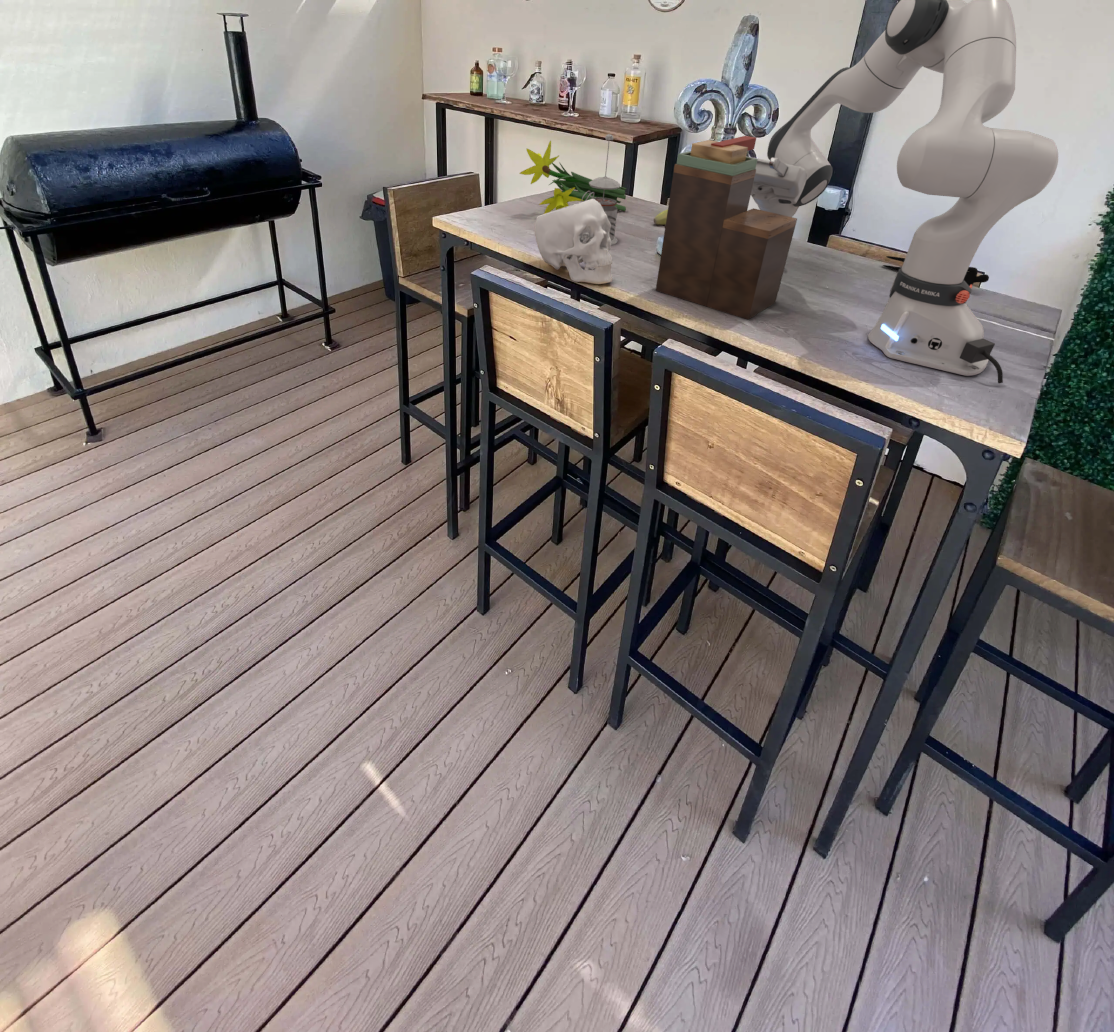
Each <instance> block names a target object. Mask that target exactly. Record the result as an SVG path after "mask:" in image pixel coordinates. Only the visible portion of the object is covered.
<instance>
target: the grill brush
mask: <svg viewBox="0 0 1114 1032" xmlns="http://www.w3.org/2000/svg"><path fill="white" fill-rule="evenodd" d="M756 143H757V137H754V136H750V135H743V136H738V137H734V138H729V139H725V140H721V141H717V140H711V139H705V140H702V141H701V140H700V141H698V142H693V143H691V147H690V151H691V154H690V156H695V157H700V158H704V159H709V160H714V161H719V162H724V163H729V164H736V163H740V162H743V161H745V159H746V156H747V154H748V152H749V151H752V150H753V151H754V150H755V147H756Z"/></svg>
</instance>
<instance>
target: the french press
mask: <svg viewBox="0 0 1114 1032" xmlns="http://www.w3.org/2000/svg"><path fill="white" fill-rule="evenodd" d="M605 140H606V141H608V143H607V155H606V163H605V175H604V176H598V177H596V178H593V179H592V181H590V182H589V185H590V186H591V187H593V188H597V189H604V191H605V189H607V190H610V189H618V188H620V187H622V186H621V184H620V182H618V181H617V180H615V179H613V178H612V177H608V176H607V169H608V160H609V149H610V141H613V140H614V136H613V134H610V133H608V134H606V135H605ZM587 192H590V191H587ZM587 192H586V193H587ZM586 193H585V194H586ZM592 193H594V192H592ZM592 193H591V192H590V194H589V195H588V197H589V196H590V197H592V196H591V194H592ZM585 194H584V195H583V197H584V196H585ZM583 197H582V200H583ZM588 197H587V199H588ZM593 197H594V194H593ZM593 197H592V198H591V199H595V200H596V201H598V202H599V203H600V204H601V206H602V208H603V210H604V212H605V213H606V215H607V217H608V220H609V222H610V224H611V228H610V232H609V235H610V239H611V246H614V245H616V244H617V243H618V239H617V237H616V236H615V234H616V227H617V226H616V224H617V218H618V217H617V216H618V210H617V207H615V206H613V205H616V204H618V203H617V201H616V200H613V199H608V198H604V193H603V197H600V198H599V197H595V198H593ZM587 199H586V200H585V201H587ZM582 200H581V201H580V202H582Z"/></svg>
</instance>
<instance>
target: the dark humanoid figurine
mask: <svg viewBox="0 0 1114 1032" xmlns="http://www.w3.org/2000/svg"><path fill="white" fill-rule="evenodd" d="M885 258H887V259H890V260H893V261H898V262H901V263H904V260H905V258H906V257H899V256H892V255H891V256H890V255H886V256H885ZM882 267H884V268H886V269H890V270H894V271H897V272H898V270H899V269H900V268H901V267H902V266H894V265H888V264H883V265H882ZM978 272H979V271H978V268H977V267H973V266H969V268H968V270H967V272H966V275H965V277H964V279H963V280H964V281H965V282H966V283H967V284H968V285H969V286H970V285H971V284H972V286H973V285H974V284H975V283H987V282H988V281H989V279H990V275H988V274H980V275H978Z"/></svg>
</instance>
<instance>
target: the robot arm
mask: <svg viewBox="0 0 1114 1032" xmlns="http://www.w3.org/2000/svg"><path fill="white" fill-rule="evenodd" d="M1016 66H1017V33H1016V27H1015V20H1014V14H1013V11H1012V8H1011V5H1010V3H1009V2H1008V0H970V1H969V2H968V3H967V2H966V1H965V0H897V2H896V3H895V5H894V7H893V8H892V10H891V12H890V13H889V16H888V19H887V21H886V24H885V29H884V31H883V32H882V33H881V34H880V35H879V37H877V39H876V40H875V41H874V42H873V44H872V45H871V46H870V47H869V49H868V50H867V51H866V53H865V54H864V55H863V57H862V58H861V59H860V60H859V61H858V62H857V63H856V64H855V65H853V66H852V67H848V66H846V67H843V68H840V69H839V70H837V71H836V72H835V73H834V74H832V75H831V76H830V77H829V78H828V79H827V80H826V81H825V82H824V83H823V84H822V85H821V86H820V87H819V88H818V89H817V90H816V91H815V92H814V93H813V95H812V96H811V97H810V98H809V99H807V101H806V102H805V103H804V104H803V105H802V106H801V108H799V110H798V111H797V112H796V113H795V114H794V115H793V116H792V117H791V118H790V119H789V120H788V121H787V122H785V123H784V124H783V125H782V126H781V127H779V128H778V129H777V130H776V131H775V132H774V133H773V135H772V136H771V137H770V139H769V142H768V146H767V153H766V157H767V159H761V158H757V157H754V158H755V159H758V160H757V164H756V173H755V177H754V182H753V187H752V191H751V196H750V197H751V198H752V200H753V201H754V203H755V204H756V205H757V207H758V210H763V211H767V212H771V213H776V214H780V215H784V216H788V217H794V216H795V215H796V213H797V212H798V209H799V208H800V207H802V206H806V205H808V204H809V203H811V202H813V201H814V200H816V199H817V198H818V197H820V196H821V195H822V194H823V193H824V192H825V191H826V189H827V188H828V185H829V183H830V181H831V178H832V176H833V166H832V165H831V163H830V161H828V158H827V157H826V156H825V155H824V153H823V152H822V151H821V150H820V148H819V147H818V145H817V144H816V143H815V141H814V140H813V138H812V129H813V128H814V127H815V125H817V123H819V122H820V121H821V119H822V118H824V116H825V115H826V114H828V112H829V111H830V110H831V109H832V108H833V107H834V106H836V105H842V106H844V107H846V108H848V109H850V110H852V111H855V112H859V113H864V114H873V113H879V112H881V111H883V110H885V109H887V108H888V107H890V106H891V105H892V104H893V103H894V102H895V101H896V100H897V99H898V98H899V96H900V95H901V94H902V92H904V90H905V89H906V88H907V86H908V85H909V84H910V82H911V81H912V80H913V79H914V77H915V76H916V75H917V73H918V72H919V71H920V69H922V68H925V69H928V70H930V71H933V72H936V73H940V74H943V76H942V88H941V89H942V90H941V98H940V104H939V108H938V110H937V112H936V114H935V115H934V116H933V117H932V119H931V120H930V121H929V122H928V123H926V124H925V125H923V126H920V127H919V128H917V129H916V130H915V131H913V133H911V134H910V135H909V137H908V138H907V139H906V140H905V142H904V143H903V145H902V147H901V148H900V150H899V153H898V156H897V160H896V174H897V178H898V180H899V183H900V185H901V186H902V187H903V188H906V189H908V190H912V191H914V192H918V193H921V194H924V195H927V196H939V197H950V198H958V199H957V201H956V202H955V204H953V205H952V206H951V207H950V208H949V209H948V210H946V211H945V212H944V213H942V214H939V215H937V216H934V217H931V218H929V219H927V220H925V221H924V222H922V224H920V225H919V227H917V228H916V230H915V231H914V233H913V236H912V239H911V241H910V244H909V247H908V249H907V252H906V255H905V257H904V258H905V260H904V262H902V266H900V267H901V268H900V269H899V270H898V271H897V272H896V274H895V276H894V279H893V282H892V285H891V287H890V290H889V292H890V293H889V295H888V296H889V297H888V300H887V303H886V305H885V307H884V308H883V310H882V312H881V314H880V316H879V318H878V320H877V321H876V323H875V325H874V326H873V328H871V330H870V332H869V333H868V335H867V338H868V340H869V342H870V343H871V344H872V345H874V346H875V347H876V348H877V349H879V350H881V351H882V353H883V354H884V355H885V356H886V357H887V358H890V359H892V360H898V361H901V362H906V363H910V364H914V365H919V366H923V367H927V368H931V369H935V370H940V371H944V372H947V373H952V374H957V375H961V376H965V377H970V376H976V375H979V374H981V373H982V372H984V370H986V368H987V366H988V363H989V362H990V363H991V364H992V365H993V367H994V368H995V370H996V373H997V384H1002V383H1004V372H1003V369H1002V367H1001V365H1000V363H999V362H998V361H997V359H996V358H994V357H993V356H992V355H991V353H992V352H993V349H994V347H995V345H996V343H995V342H992V341H990V340H988V339H985V338H984V336H985V330H984V326H983V324H982V323H981V321H980V320H979V319H978V318H977V316H976V315H975V314H974V313H973V311H972V310H971V308H970V307H969V305H967V302H968V300H969V298H970V295H971V293H972V289H973V285H972V284H971V285H970V286H969V285H968V284H967V283H966V282H965V281H964V280H963V279H964V277H965V275H966V272H968V271H967V270H968V268H969V267H971V266H970V265H971V264H972V261H973V259H974V257H975V256H976V253H977V251H978V249H979V247H980V245H981V244H982V242H983V241H984V239H985V237H986V236H987V235H988V233H989V232H990V230H991V229H993V227H994V226H995V225H996V224H997V223H998V222H999V221H1000V220H1001V219H1002V218H1003V217H1004V216H1005V215H1007V214H1008V213H1009V212H1010V211H1011V210H1013V209H1015V208H1016V207H1018V206H1019V205H1020V204H1022V203H1025V202H1026V201H1028V200H1031V199H1032V198H1034V197H1036V196H1037V195H1038V194H1040V193H1041V192H1042V191H1043V190H1044V189H1045V188H1046V187H1047V186H1048V185H1049V184H1050V182H1051V181H1052V179H1053V178H1054V175H1055V173H1056V171H1057V168H1058V165H1059V150H1058V146H1057V144H1056V142H1055V141H1054V140H1053V139H1051V138H1049V137H1046V136H1043V135H1041V134H1038V133H1034V132H1031V131H1028V130H1021V129H1020V130H1019V129H1008V128H996V127H989V126H985V124H984V123H987V122H989V121H990V120H992V119H993V118H995V117H996V116H998V115H999V114H1000V113H1002V112H1003V111H1004V110H1005V109H1006V108H1007V106H1008V105H1009V104H1010V102H1011V100H1012V99H1013V96H1014V93H1015V90H1016V71H1017V70H1016ZM746 157H748V156H747V155H746ZM749 157H750V158H753V156H749Z"/></svg>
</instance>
